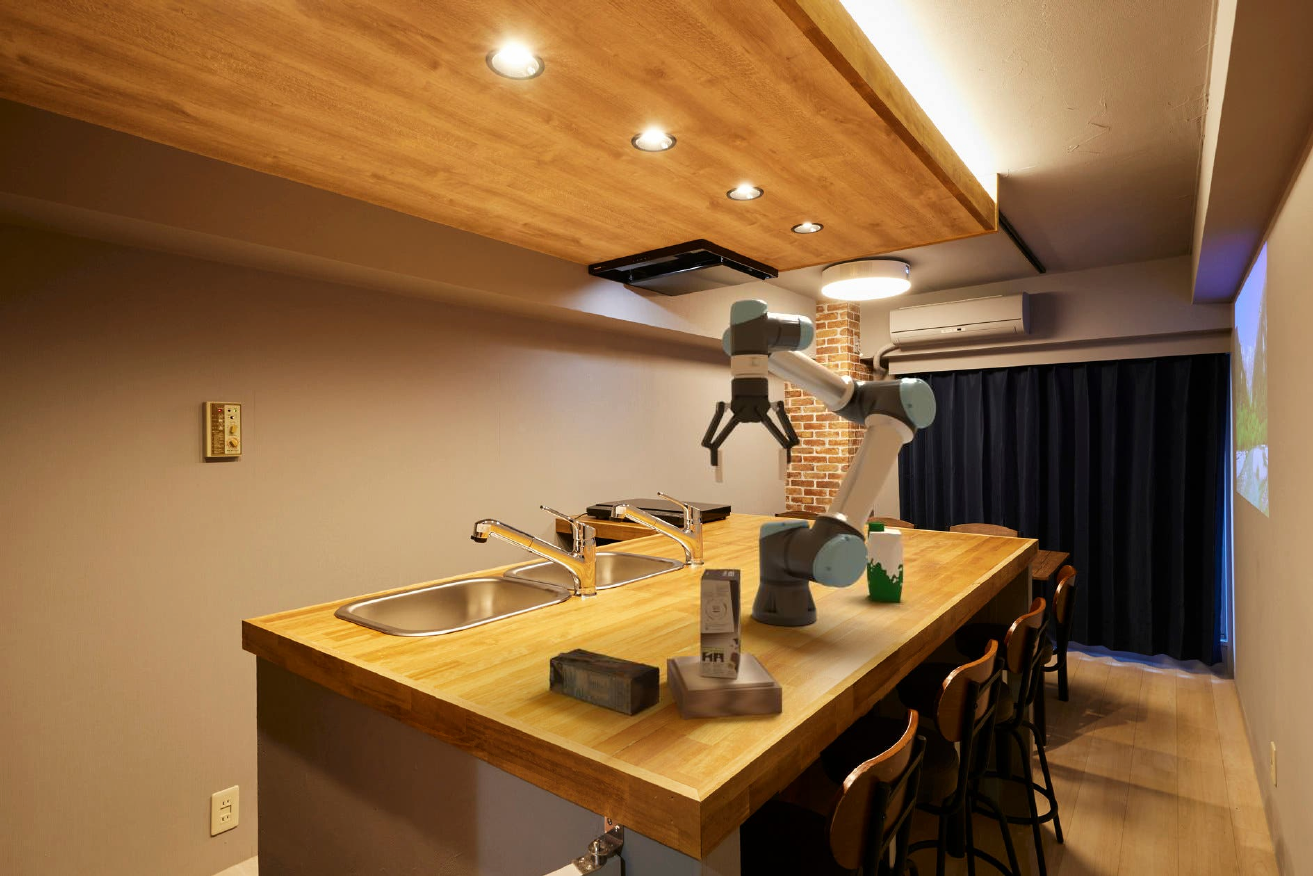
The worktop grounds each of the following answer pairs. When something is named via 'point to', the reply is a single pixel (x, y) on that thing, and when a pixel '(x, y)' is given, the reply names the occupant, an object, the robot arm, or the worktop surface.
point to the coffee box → (720, 623)
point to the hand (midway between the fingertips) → (751, 481)
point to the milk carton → (884, 563)
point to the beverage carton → (605, 680)
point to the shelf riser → (723, 689)
